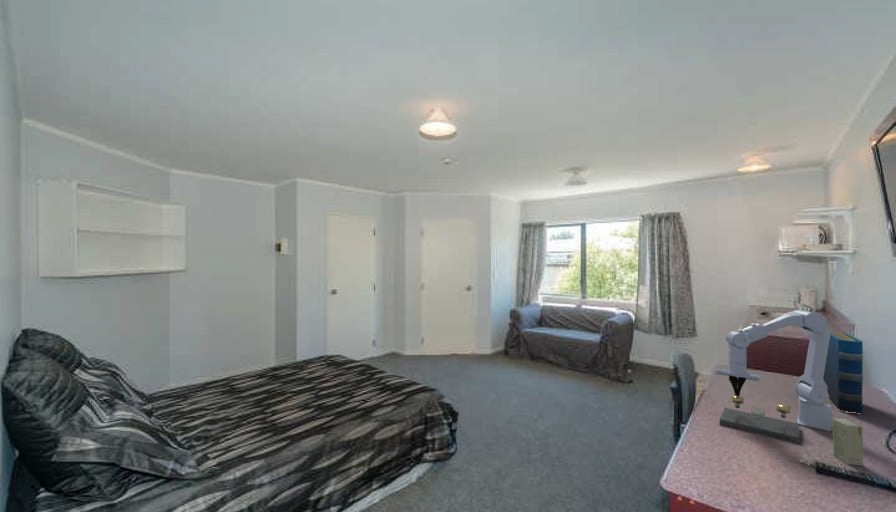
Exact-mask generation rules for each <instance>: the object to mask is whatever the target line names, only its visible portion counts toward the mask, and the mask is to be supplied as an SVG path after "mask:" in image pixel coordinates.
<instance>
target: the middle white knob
mask: <svg viewBox="0 0 896 512" xmlns="http://www.w3.org/2000/svg"><path fill="white" fill-rule="evenodd" d="M750 413H752V414H755V419H756V420H761V416H765V414H766V411H765V408H764V407H762V406H757V405H751V406H750Z"/></svg>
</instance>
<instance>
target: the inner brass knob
mask: <svg viewBox="0 0 896 512" xmlns="http://www.w3.org/2000/svg"><path fill="white" fill-rule="evenodd" d="M775 408H776V409H775V410H776V411H777V412H779V413H780V418H782V419H786V418H787V414H791V406H789V405H786V404H783V403H777V404H776V407H775Z"/></svg>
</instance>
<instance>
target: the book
mask: <svg viewBox="0 0 896 512" xmlns="http://www.w3.org/2000/svg"><path fill="white" fill-rule="evenodd" d="M863 346H864V344H863V340H861V339H859V338H858V337H855V336H854V335H851V334H849V333H848V332H845V331H842V332H834V331H830V340H829V346H828V352H827V358H826V364H825V370H824V376H823V380H824V382H825V383H826V385H827V392H828V394H829V399H830V400H831V402H832V403H833V404H834V405H835V406H836V407H837V408H838V409H840V410H843V411H848V412H856V413H861V412H862V413H863V402H864V401H863V400H864V399H863V397H864V396H863V381H864V380H863V379H864V374H863V361H864V355H863V350H864V349H863ZM831 402H830V403H831ZM832 403H831V404H832Z"/></svg>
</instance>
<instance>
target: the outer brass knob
mask: <svg viewBox="0 0 896 512" xmlns="http://www.w3.org/2000/svg"><path fill="white" fill-rule="evenodd" d="M730 399H731V400H730V402H732V403H734V408H735V409H740V408H741V405H743V404H744V399H745V398H744V397H743V396H741V395H740V396H735V394H732V395H731V397H730Z"/></svg>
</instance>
